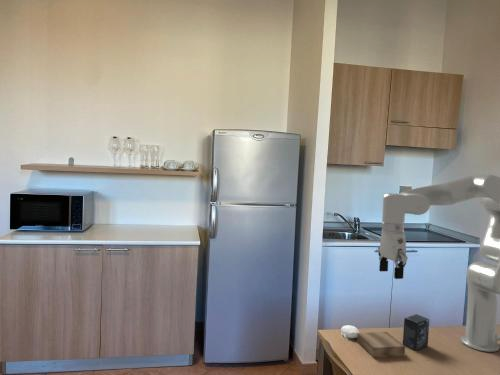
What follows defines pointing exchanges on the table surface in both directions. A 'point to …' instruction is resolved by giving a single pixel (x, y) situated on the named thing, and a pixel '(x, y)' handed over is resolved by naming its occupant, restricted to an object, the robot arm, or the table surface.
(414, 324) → the box
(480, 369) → the table surface
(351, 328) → the garlic
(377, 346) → the walnut block
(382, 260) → the robot arm
